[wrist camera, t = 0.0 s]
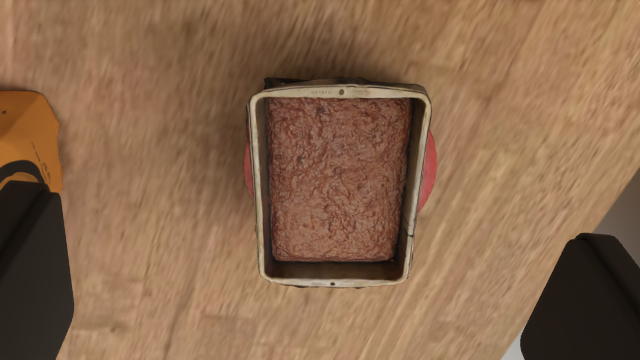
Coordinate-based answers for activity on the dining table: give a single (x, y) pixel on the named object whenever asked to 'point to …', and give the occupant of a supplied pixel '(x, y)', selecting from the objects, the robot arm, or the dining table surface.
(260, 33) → the dining table surface
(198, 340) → the dining table surface
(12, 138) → the coffee package
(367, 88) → the baking dish
